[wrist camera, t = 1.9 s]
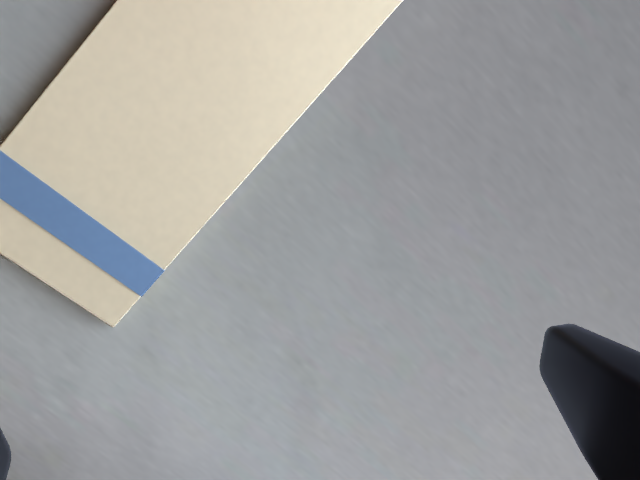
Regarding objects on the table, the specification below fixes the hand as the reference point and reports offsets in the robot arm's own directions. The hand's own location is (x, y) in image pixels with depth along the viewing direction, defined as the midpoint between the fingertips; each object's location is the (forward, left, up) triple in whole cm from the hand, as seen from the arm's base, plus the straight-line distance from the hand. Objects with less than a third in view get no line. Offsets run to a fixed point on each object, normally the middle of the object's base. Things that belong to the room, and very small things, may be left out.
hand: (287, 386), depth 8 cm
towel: (+5, +5, -12) cm, 14 cm away
